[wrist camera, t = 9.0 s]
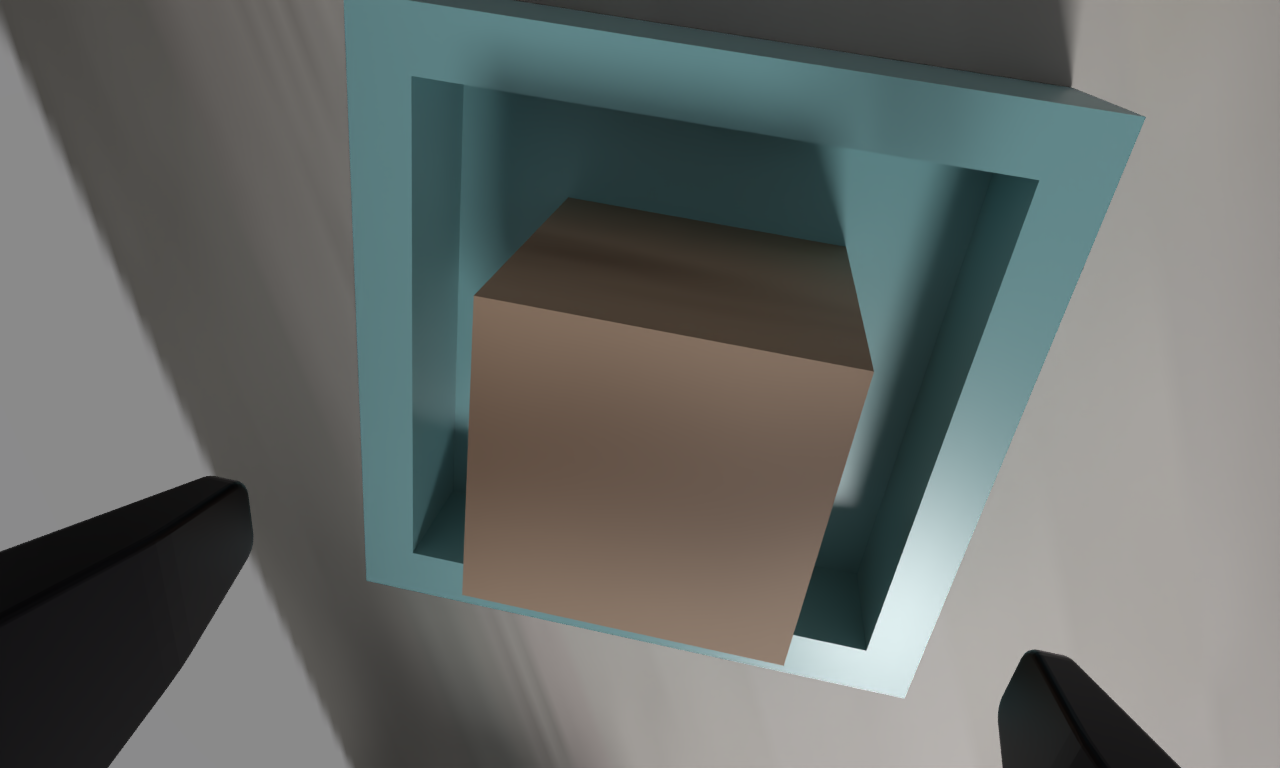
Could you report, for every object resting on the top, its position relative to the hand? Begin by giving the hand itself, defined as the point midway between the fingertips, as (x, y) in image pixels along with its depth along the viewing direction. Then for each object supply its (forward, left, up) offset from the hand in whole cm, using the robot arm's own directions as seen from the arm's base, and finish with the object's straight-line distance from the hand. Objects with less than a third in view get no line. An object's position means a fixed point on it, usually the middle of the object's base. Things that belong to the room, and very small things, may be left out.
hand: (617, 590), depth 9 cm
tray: (0, 0, -8) cm, 8 cm away
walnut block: (0, 0, -7) cm, 7 cm away
